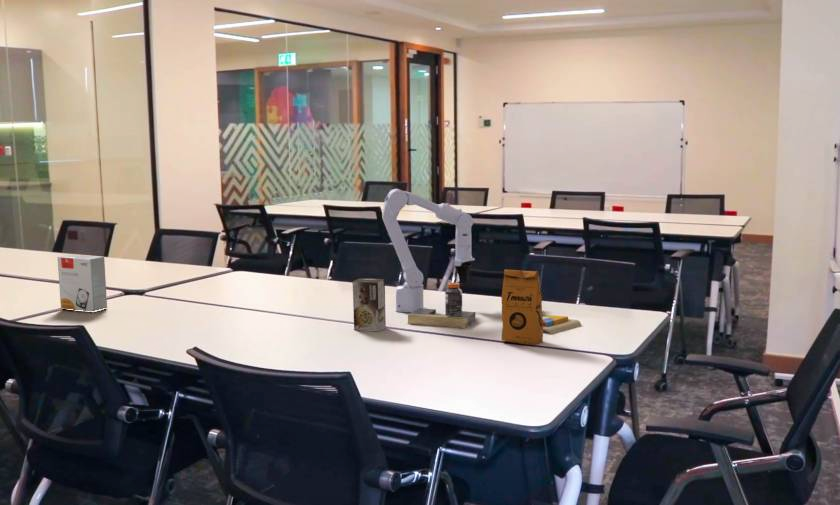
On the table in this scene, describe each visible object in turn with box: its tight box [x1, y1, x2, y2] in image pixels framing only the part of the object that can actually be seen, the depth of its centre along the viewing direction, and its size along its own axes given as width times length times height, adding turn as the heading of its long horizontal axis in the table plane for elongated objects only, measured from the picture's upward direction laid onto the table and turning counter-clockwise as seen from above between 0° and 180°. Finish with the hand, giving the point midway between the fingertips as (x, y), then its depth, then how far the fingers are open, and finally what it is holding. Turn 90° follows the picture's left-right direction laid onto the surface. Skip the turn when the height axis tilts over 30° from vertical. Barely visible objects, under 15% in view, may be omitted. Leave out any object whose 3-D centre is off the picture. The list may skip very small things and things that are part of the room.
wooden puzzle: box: [542, 313, 582, 335], centre depth 264 cm, size 18×19×4 cm
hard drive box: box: [57, 254, 108, 311], centre depth 294 cm, size 16×8×20 cm, turn 68°
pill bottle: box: [444, 282, 463, 316], centre depth 281 cm, size 6×6×11 cm
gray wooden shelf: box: [407, 308, 476, 329], centre depth 270 cm, size 20×11×3 cm, turn 69°
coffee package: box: [501, 269, 544, 346], centre depth 241 cm, size 10×12×22 cm
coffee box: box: [351, 278, 387, 332], centre depth 260 cm, size 9×6×16 cm
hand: (463, 283), depth 290 cm, fingers closed
